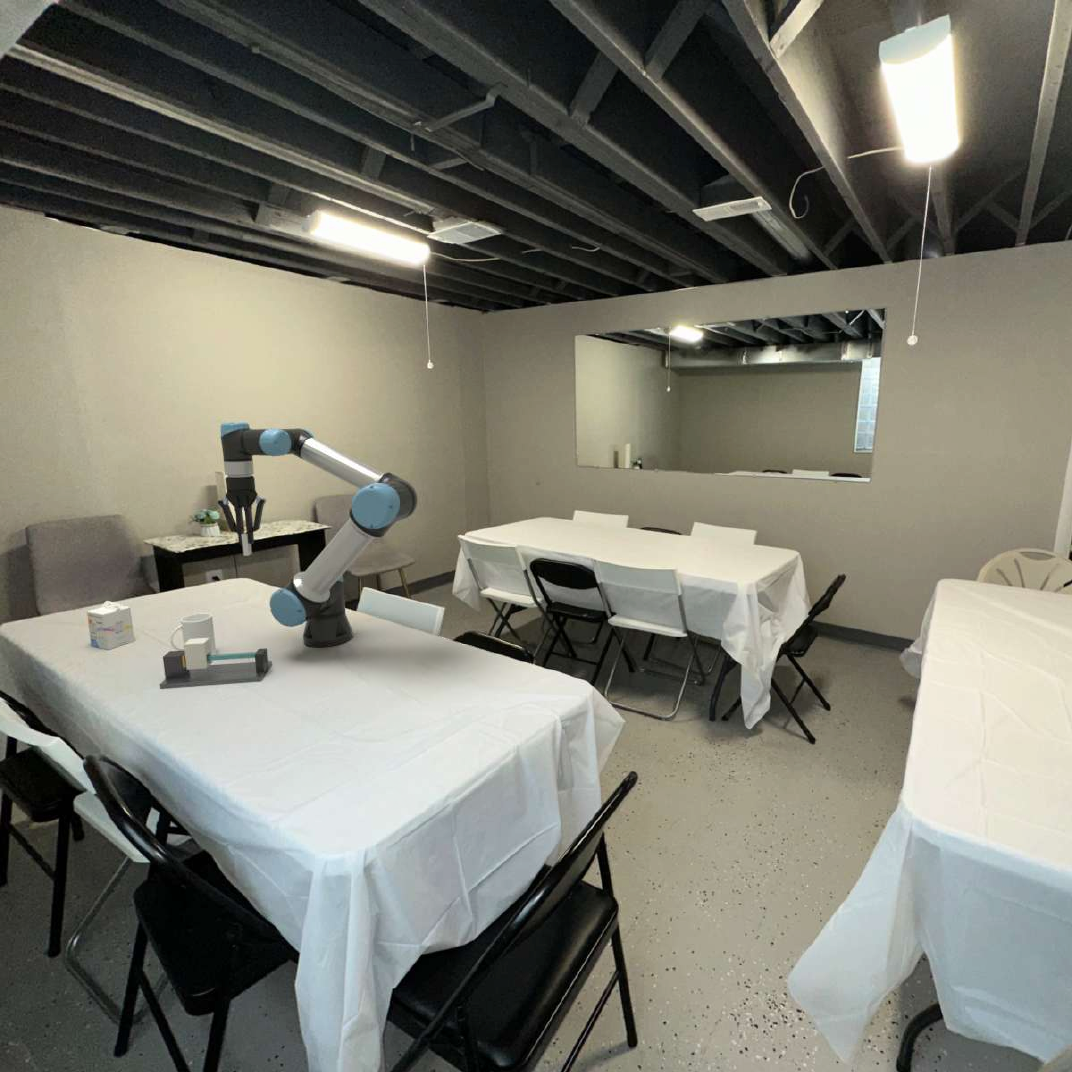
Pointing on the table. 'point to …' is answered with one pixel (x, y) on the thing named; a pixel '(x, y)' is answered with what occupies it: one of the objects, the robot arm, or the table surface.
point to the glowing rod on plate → (214, 670)
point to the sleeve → (197, 653)
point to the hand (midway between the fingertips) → (247, 554)
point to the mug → (196, 629)
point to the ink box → (110, 626)
